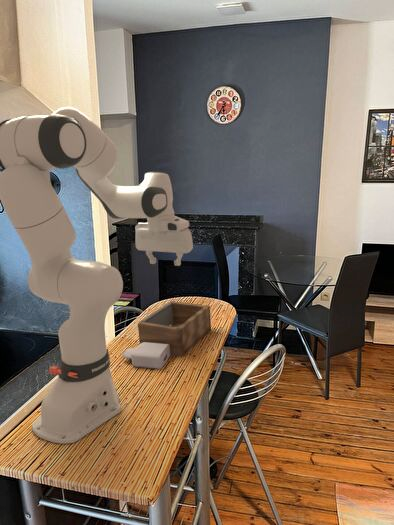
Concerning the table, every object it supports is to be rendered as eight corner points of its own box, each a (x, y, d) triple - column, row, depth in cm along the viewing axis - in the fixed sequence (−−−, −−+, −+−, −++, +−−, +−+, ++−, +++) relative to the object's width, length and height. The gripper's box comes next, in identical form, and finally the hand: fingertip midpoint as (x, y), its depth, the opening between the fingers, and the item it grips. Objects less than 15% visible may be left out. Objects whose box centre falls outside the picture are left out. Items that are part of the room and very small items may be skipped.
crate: (181, 357, 127) (179, 329, 125) (140, 349, 135) (137, 323, 132) (211, 330, 146) (209, 305, 144) (173, 324, 153) (171, 301, 151)
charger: (128, 352, 133) (170, 356, 129) (115, 366, 125) (160, 370, 121) (127, 339, 132) (169, 342, 128) (113, 352, 124) (159, 356, 120)
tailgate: (146, 343, 135) (144, 321, 133) (142, 342, 136) (140, 320, 134) (173, 323, 151) (171, 303, 149) (170, 322, 152) (168, 302, 150)
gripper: (129, 224, 131) (134, 264, 134) (184, 225, 121) (187, 269, 125) (140, 220, 136) (144, 259, 140) (193, 221, 127) (196, 263, 131)
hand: (165, 264), depth 132 cm, fingers open, 8 cm apart
